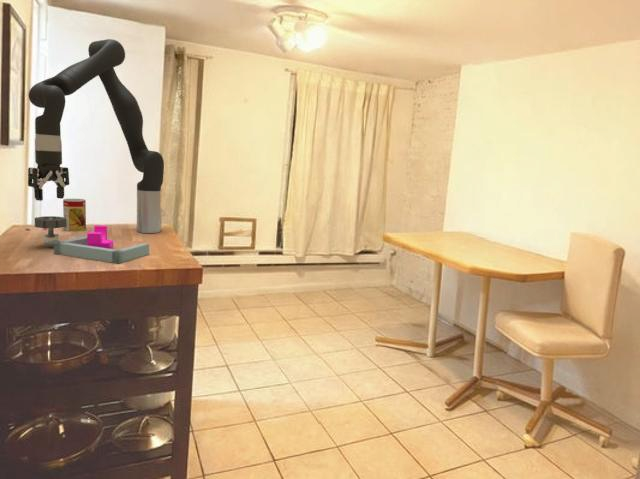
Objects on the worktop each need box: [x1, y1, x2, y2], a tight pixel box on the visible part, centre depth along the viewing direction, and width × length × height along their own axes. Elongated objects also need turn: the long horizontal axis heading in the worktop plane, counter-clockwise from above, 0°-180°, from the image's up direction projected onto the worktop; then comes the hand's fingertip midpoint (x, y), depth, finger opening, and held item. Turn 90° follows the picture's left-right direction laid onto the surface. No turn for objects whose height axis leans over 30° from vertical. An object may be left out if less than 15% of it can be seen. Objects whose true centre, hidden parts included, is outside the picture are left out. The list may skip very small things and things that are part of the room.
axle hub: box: [42, 218, 60, 249], centre depth 156 cm, size 4×4×10 cm
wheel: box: [34, 215, 66, 229], centre depth 155 cm, size 9×9×2 cm
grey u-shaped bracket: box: [53, 235, 150, 264], centre depth 152 cm, size 15×24×4 cm, turn 75°
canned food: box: [62, 198, 87, 232], centre depth 186 cm, size 8×8×12 cm
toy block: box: [86, 225, 114, 249], centre depth 155 cm, size 15×6×8 cm, turn 17°
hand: (49, 199), depth 154 cm, fingers open, 8 cm apart
